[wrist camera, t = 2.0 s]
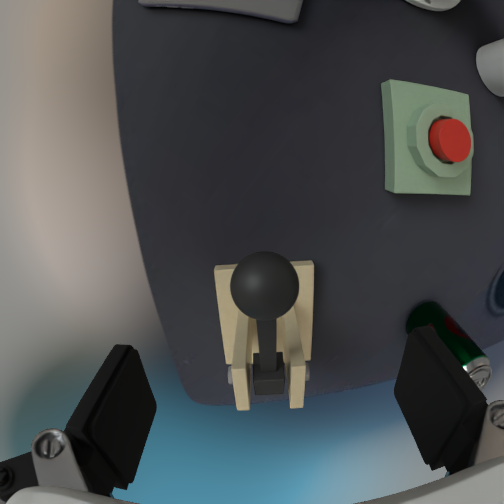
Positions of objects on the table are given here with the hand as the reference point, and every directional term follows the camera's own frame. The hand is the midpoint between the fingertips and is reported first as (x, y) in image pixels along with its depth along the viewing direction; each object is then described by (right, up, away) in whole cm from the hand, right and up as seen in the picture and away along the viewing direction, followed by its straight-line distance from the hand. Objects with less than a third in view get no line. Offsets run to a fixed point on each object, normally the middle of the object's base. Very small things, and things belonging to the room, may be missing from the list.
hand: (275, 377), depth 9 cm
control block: (+16, +15, +14) cm, 26 cm away
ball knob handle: (0, 0, +10) cm, 10 cm away
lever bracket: (+1, -2, +21) cm, 21 cm away
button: (+16, +14, +11) cm, 23 cm away
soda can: (+19, -3, +21) cm, 28 cm away
